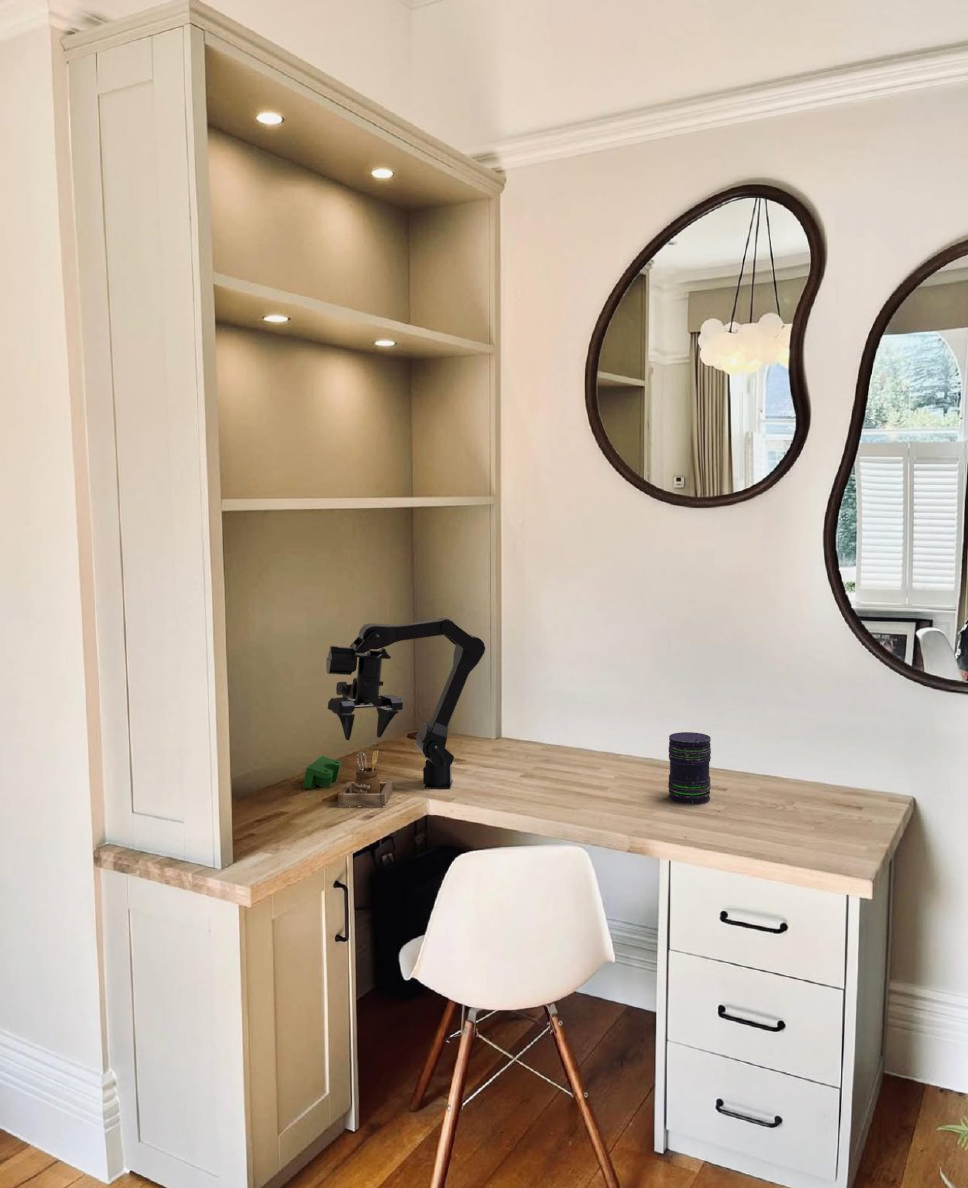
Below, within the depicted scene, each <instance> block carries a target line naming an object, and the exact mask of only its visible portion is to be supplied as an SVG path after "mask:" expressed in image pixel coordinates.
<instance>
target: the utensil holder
mask: <svg viewBox="0 0 968 1188" xmlns="http://www.w3.org/2000/svg"><path fill="white" fill-rule="evenodd" d="M357 753H358V754H357V755H359V754H360V755H362V754H363V756H364V758H365V760H364V762H365V767H361V765H362V766H364V765H363V764H364V763H363V762H361V765H360V762H359V761H363V758H362V756H360V759H361V760H360V759H357V762H356V763H357V765H358V767H359V768H357V769H356V771H355V776H356V777H355V779H354V782H355V793H367V794H380V782H381V781H380V777H379V776H378V774H379V771H378V768H376V767H375V764H377V761H378V756H379V755H378V754H379V750H375V751H373V752H372V758H371V764H372V766H369V767H368V765H367V757H366V753H365V752H363V751H359V752H357Z"/></svg>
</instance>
